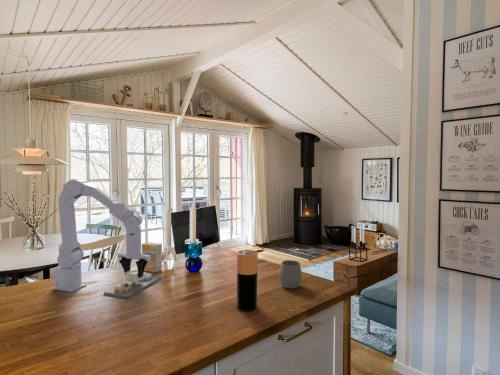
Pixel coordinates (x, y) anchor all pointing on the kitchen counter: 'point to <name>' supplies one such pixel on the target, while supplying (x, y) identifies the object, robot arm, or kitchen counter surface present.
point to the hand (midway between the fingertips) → (134, 276)
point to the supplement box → (153, 256)
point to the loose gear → (132, 276)
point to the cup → (290, 274)
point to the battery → (247, 280)
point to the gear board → (132, 286)
